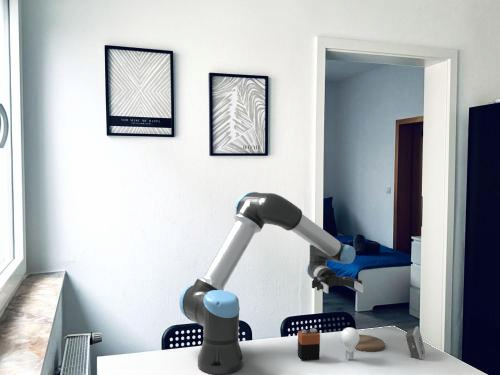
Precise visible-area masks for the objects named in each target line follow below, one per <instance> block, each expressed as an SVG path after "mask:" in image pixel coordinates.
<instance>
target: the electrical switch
mask: <svg viewBox="0 0 500 375" xmlns="http://www.w3.org/2000/svg"><path fill="white" fill-rule="evenodd" d="M419 327H420V326H415V327H414V328H413V329H408V330H407V332H406V333H405V339H406V343H407V346H408V351H409V353H410V354H409V355H410V358H411V359H413V358H415V359H417V358H419V360H420V361H422V360H424V356H425V354H426V349H425V345H424V342H423V341H424V340H423V337H422V334H421V330H420V328H419Z"/></svg>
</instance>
